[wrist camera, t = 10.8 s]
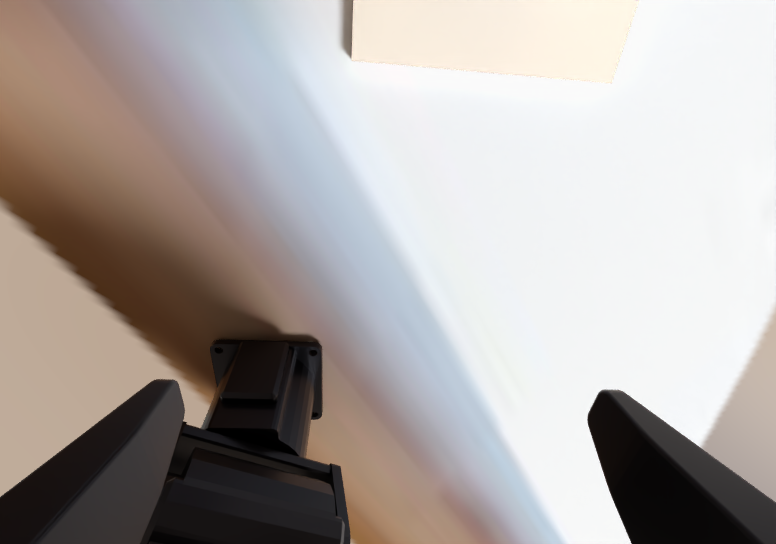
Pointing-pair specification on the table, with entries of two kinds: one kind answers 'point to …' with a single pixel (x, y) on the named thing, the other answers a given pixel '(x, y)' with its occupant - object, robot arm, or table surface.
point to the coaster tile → (496, 35)
